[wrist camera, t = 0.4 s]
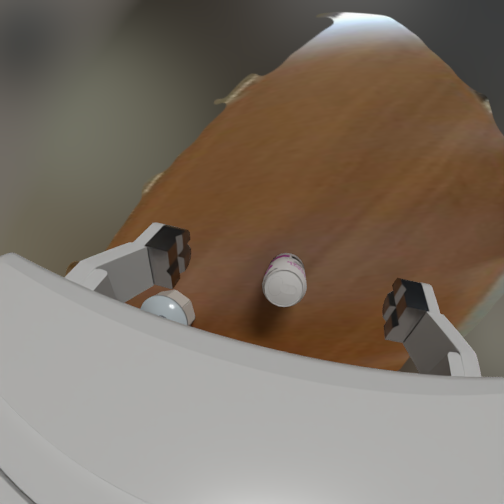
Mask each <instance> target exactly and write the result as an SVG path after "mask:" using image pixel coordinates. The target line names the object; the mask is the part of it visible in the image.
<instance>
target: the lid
mask: <svg viewBox="0 0 504 504" xmlns="http://www.w3.org/2000/svg"><path fill="white" fill-rule="evenodd" d="M141 310H144V311H147V312H149V313H152V314H155V315H158V316H161V317H163V318H166V319H169V320H172V321H175V322H178V323H181V324H184V325H188V319H187V316H186V313H185V311H184V310H183V308H182V307H181V306H180V305H179V304H178V303H177V302H176V301H175V300H174V299H172V298H170V297H168V296H164V295H155V296H152V297H150V298H148V299H147V300H146V301H145V302H144V303H143V304H142V306H141Z"/></svg>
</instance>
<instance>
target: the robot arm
mask: <svg viewBox="0 0 504 504" xmlns="http://www.w3.org/2000/svg"><path fill="white" fill-rule="evenodd" d="M189 241H190V232H189V231H188V230H186V229H182V228H178V227H174V226H170V225H165V224H161V223H153V224H151V225H150V226H149V227H148V228H147V229H146V230H145V231H144V232H143V233H142V234H141V235H140V236H139V237H138V238H137V239H136V240H135V241H134V242H133V243H130V242H129V243H127V244H124V245H121V246H118V247H116V248H113V249H110V250H108V251H105V252H102V253H100V254H97V255H95V256H92V257H90V258H87V259H84V260H82V261H80V262H79V263H78V264H77V265H76V266H75V267H74V268H73V269H72V270H71V271H70V272H69V273H68V274H67V275H66V276H65V277H62V276H60V275H58V274H55V273H53V272H51V271H49V270H47V269H45V268H43V267H41V266H39V265H37V264H35V263H33V262H31V261H29V260H27V259H25V258H24V257H22V256H20V255H18V254H16V253H8V254H5V255H2V256H0V504H504V377H481V373H480V368H479V364H478V360H477V356H476V353H475V352H474V351H473V349H472V348H471V347H470V346H469V344H468V343H467V342H466V341H465V340H464V338H463V337H462V336H461V335H460V333H459V332H458V331H457V330H456V329H455V328H454V326H453V325H452V324H451V323H450V322H449V321H448V319H447V318H446V317H445V316H444V315H442V314H440V311H439V308H438V304H437V301H436V298H435V295H434V292H433V289H432V286H431V285H430V284H425V283H420V282H419V283H418V282H414V281H410V280H405V279H401V278H397V279H396V280H395V281H394V283H393V285H392V287H393V291H392V292H390V293H388V294H387V296H386V298H385V300H384V304H383V310H382V313H383V318H384V319H385V320H386V323H385V325H384V334H385V339H386V340H391V341H396V342H402V343H403V345H404V346H405V348H406V350H407V352H408V353H409V355H410V357H411V359H412V360H413V362H414V364H415V366H416V368H417V369H418V371H419V373H420V374H417V373H407V372H398V371H390V370H382V369H375V368H368V367H361V366H354V365H348V364H342V363H337V362H331V361H326V360H320V359H315V358H310V357H305V356H301V355H296V354H292V353H287V352H283V351H278V350H274V349H270V348H266V347H262V346H258V345H254V344H250V343H246V342H242V341H239V340H235V339H231V338H228V337H224V336H221V335H217V334H214V333H210V332H207V331H204V330H200V329H197V328H194V327H191V326H188V325H184V324H181V323H178V322H175V321H172V320H169V319H166V318H163V317H161V316H158V315H155V314H152V313H149V312H147V311H144V310H141V309H138V308H136V307H133V306H130V305H128V304H125V303H124V302H126V301H128V300H129V299H131V298H133V297H135V296H136V295H138V294H140V293H141V292H143V291H145V290H146V289H148V288H150V287H152V286H153V285H154V284H155V285H159V286H162V287H166V288H170V289H173V288H174V287H175V285H176V284H177V282H178V281H179V279H180V273H182V272H184V271H185V270H186V269H187V267H188V265H189V262H190V259H191V248H190V247H189V245H188V244H187V243H188V242H189Z"/></svg>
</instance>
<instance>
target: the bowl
mask: <svg viewBox="0 0 504 504" xmlns="http://www.w3.org/2000/svg"><path fill="white" fill-rule="evenodd" d="M157 295H164V296H168V297H170V298H172V299H174V300H175V301H176V302H177V303H178V304H179V305H180V306H181V307H182V308H183V310H184V311H185V313H186V316H187V319H188V326H191V324H192V323H193V321H194V319H195V314H194V311H193V307H192V303H191V301H190V300H189V299H188V298H187V297H185V296H184V295H182V294H181V293H180V292H178V291H177V290H176V291H175V290H170V291H164V292H160V293H158V294H157Z"/></svg>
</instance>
